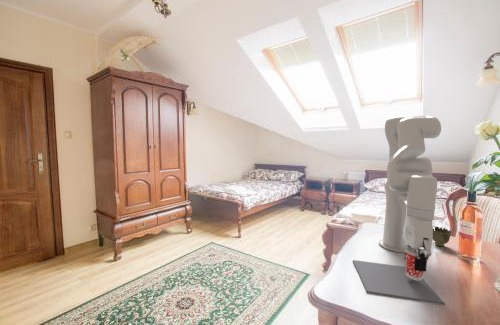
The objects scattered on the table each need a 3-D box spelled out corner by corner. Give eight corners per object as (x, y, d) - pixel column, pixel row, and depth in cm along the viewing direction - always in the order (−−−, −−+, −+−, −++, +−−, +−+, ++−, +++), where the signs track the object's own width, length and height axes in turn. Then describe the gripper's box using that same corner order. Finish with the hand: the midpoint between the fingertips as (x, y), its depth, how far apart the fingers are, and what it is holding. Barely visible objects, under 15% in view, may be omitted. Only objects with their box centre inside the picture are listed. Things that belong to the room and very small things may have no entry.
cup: (443, 250, 105) (445, 232, 104) (425, 243, 112) (427, 227, 111) (453, 247, 108) (454, 231, 107) (435, 241, 115) (436, 225, 114)
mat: (352, 261, 92) (352, 259, 92) (412, 269, 87) (412, 267, 87) (366, 292, 72) (367, 290, 72) (444, 304, 68) (444, 302, 68)
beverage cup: (404, 269, 83) (407, 231, 82) (425, 276, 79) (429, 236, 78) (401, 276, 78) (405, 236, 77) (424, 284, 74) (428, 241, 73)
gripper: (396, 205, 86) (392, 252, 87) (420, 219, 69) (414, 277, 70) (419, 207, 84) (415, 255, 86) (449, 222, 67) (443, 281, 69)
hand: (414, 264), depth 78 cm, fingers closed on beverage cup, 6 cm apart
